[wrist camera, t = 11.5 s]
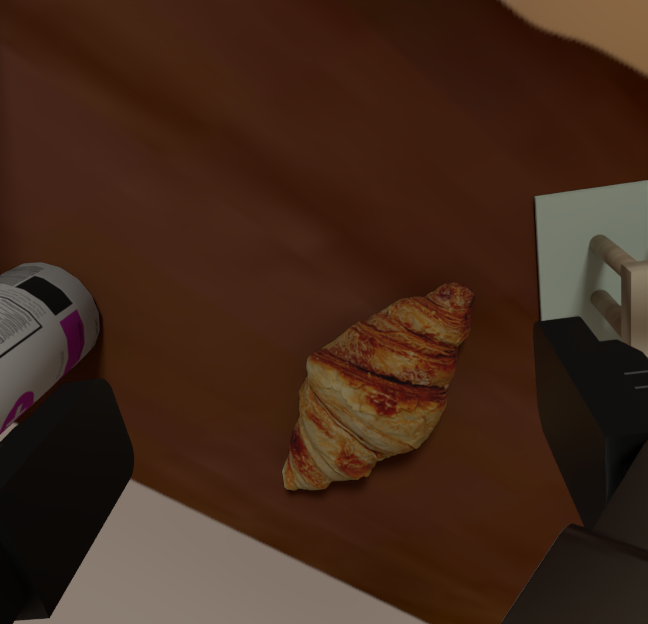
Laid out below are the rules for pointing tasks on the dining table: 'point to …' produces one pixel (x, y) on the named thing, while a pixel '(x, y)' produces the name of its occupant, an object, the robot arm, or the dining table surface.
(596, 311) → the mat
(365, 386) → the croissant
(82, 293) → the supplement can
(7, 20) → the dining table surface
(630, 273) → the stool
